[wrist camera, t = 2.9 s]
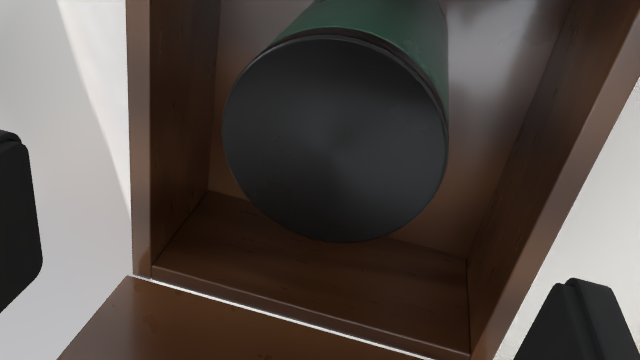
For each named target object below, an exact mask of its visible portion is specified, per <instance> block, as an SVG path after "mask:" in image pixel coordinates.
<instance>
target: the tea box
mask: <svg viewBox="0 0 640 360" xmlns="http://www.w3.org/2000/svg"><path fill="white" fill-rule="evenodd" d="M314 1H315V0H126V35H127V72H128V109H129V147H130V184H131V221H132V257H133V274H134V275H137V276H140V277H144V278H147V279H151V278H152V279H153V280H156V281H159V282H163V283H166V284H170V285H173V286H177V287H180V288H184V289H187V290H191V291H195V292H198V293H202V294H205V295H209V296H212V297H216V298H219V299H223V300H226V301H230V302H233V303H237V304H240V305H244V306H247V307H251V308H255V309H258V310H262V311H265V312H269V313H272V314H276V315H279V316H283V317H286V318H290V319H293V320H297V321H300V322H304V323H307V324H311V325H314V326H318V327H322V328H325V329H329V330H332V331H336V332H339V333H343V334H346V335H350V336H353V337H357V338H360V339H364V340H367V341H371V342H374V343H378V344H382V345H385V346H389V347H392V348H396V349H399V350H403V351H406V352H410V353H413V354H417V355H420V356H424V357H427V358H431V359H434V360H493V358H494V356H495V354H496V352H497V350H498V348H499V347H500V345H501V343H502V341H503V339H504V337H505V335H506V333H507V331H508V329H509V327H510V325H511V323H512V321H513V319H514V318H515V316H516V314H517V312H518V310H519V308H520V306H521V304H522V302H523V300H524V298H525V296H526V294H527V292H528V290H529V289H530V287H531V285H532V283H533V281H534V279H535V277H536V275H537V273H538V271H539V269H540V267H541V265H542V263H543V262H544V260H545V258H546V256H547V254H548V252H549V250H550V248H551V246H552V244H553V242H554V240H555V238H556V236H557V234H558V233H559V231H560V229H561V227H562V225H563V223H564V221H565V219H566V217H567V215H568V213H569V211H570V209H571V207H572V205H573V204H574V202H575V200H576V198H577V196H578V194H579V192H580V190H581V188H582V186H583V184H584V182H585V180H586V178H587V176H588V175H589V173H590V171H591V169H592V167H593V165H594V163H595V161H596V159H597V157H598V155H599V153H600V151H601V149H602V148H603V146H604V144H605V142H606V140H607V138H608V136H609V134H610V132H611V130H612V128H613V126H614V124H615V122H616V120H617V119H618V117H619V115H620V113H621V111H622V109H623V107H624V105H625V103H626V101H627V99H628V97H629V95H630V93H631V91H632V90H633V88H634V86H635V84H636V82H637V80H638V78H639V76H640V0H437V2H438V3H439V5H440V7H441V9H442V12H443V14H444V17H445V20H446V24H447V30H448V77H449V155H448V164H447V168H446V172H445V176H444V179H443V181H442V183H441V186H440V188H439V190H438V192H437V194H436V195H435V197H434V198H433V200H432V202H431V203H430V204H429V205H428V206H427V207H426V209H425V210H424V211H423V212H422V213H421V214H420V215H419V216H418V217H416V218H415V219H414V220H413V221H412V222H410V223H409V224H407V225H406V226H404V227H403V228H401V229H399V230H397V231H396V232H394V233H392V234H389V235H387V236H384V237H381V238H378V239H374V240H370V241H366V242H358V243H332V242H324V241H319V240H314V239H310V238H307V237H304V236H301V235H298V234H296V233H294V232H292V231H289V230H287V229H285V228H284V227H282V226H280V225H278V224H277V223H275V222H274V221H272V220H271V219H270V218H268V217H267V216H265V215H264V214H263V213H262V212H261V211H260V210H259V209H257V208H256V207H255V206H254V205H253V204H252V202H251V201H250V200H249V199H248V198H247V197H246V196H245V194H244V193H243V191H242V190H241V189H240V187H239V186H238V184H237V182H236V181H235V179H234V177H233V175H232V173H231V171H230V168H229V166H228V163H227V160H226V156H225V152H224V148H223V140H222V118H223V112H224V107H225V103H226V100H227V97H228V94H229V92H230V90H231V88H232V86H233V84H234V82H235V81H236V79H237V78H238V76H239V75H240V73H241V72H242V71H243V70H244V69H245V68H246V67H247V65H248V64H249V63H250V62H251V61H252V60H253V59H254V58H255V57H256V56H257V55H259V54H260V53H261V52H262V51H263V50H264V49H265V48H266V47H267V46H268V45H269V44H270V43H271V42H272V41H273V40H274V39H275V38H276V37H277V36H278V35H279V34H280V33H282V32H283V31H284V30H285V29H286V28H287V27H288V26H289V25H290V24H291V23H292V22H293V21H294V20H295V19H296V18H297V17H298V16H299V15H300V14H301V13H302V12H304V11H305V10H306V9H307V8H308V7H309V6H310V5H311V4H312V3H313V2H314Z"/></svg>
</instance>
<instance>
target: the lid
mask: <svg viewBox="0 0 640 360" xmlns="http://www.w3.org/2000/svg"><path fill="white" fill-rule="evenodd" d="M57 360H424V359H420V358H417V357H413V356H410V355H406V354H403V353H399V352H395V351H392V350H388V349H385V348H381V347H378V346H374V345H371V344H367V343H364V342H360V341H357V340H353V339H350V338H346V337H343V336H339V335H336V334H332V333H329V332H325V331H322V330H318V329H314V328H311V327H307V326H304V325H300V324H297V323H293V322H290V321H286V320H283V319H279V318H276V317H272V316H269V315H265V314H262V313H258V312H255V311H251V310H248V309H244V308H241V307H237V306H233V305H230V304H226V303H223V302H219V301H216V300H212V299H209V298H205V297H202V296H198V295H195V294H191V293H188V292H184V291H181V290H177V289H174V288H170V287H167V286H163V285H160V284H156V283H152V282H149V281H145V280H142V279H138V278H135V277H131V276H126V277H125V278H124V279H123V280H122V282H121V283H120V284H119V285H118V286H117V288H116V289H115V290H114V291H113V292H112V294H111V295H110V296H109V297H108V298H107V300H106V301H105V302H104V303H103V304H102V306H101V307H100V308H99V309H98V311H97V312H96V313H95V314H94V316H92V318H91V319H90V320H89V321H88V323H87V324H86V325H85V326H84V327H83V328H82V330H81V331H80V332H79V333H78V334H77V336H76V337H75V338H74V339H73V340H72V342H71V343H70V344H69V345H68V346H67V348H66V349H65V350H64V351H63V353H62V354H61V355H60V356H59V357H58V358H57Z"/></svg>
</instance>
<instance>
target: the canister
mask: <svg viewBox="0 0 640 360" xmlns="http://www.w3.org/2000/svg"><path fill="white" fill-rule="evenodd" d="M222 140H223V148H224V152H225V156H226V160H227V163H228V166H229V168H230V171H231V173H232V175H233V177H234V179H235V181H236V182H237V184H238V186H239V187H240V189H241V190H242V191H243V193H244V194H245V196H246V197H247V198H248V199H249V200H250V201H251V202H252V204H253V205H254V206H255V207H256V208H257V209H259V210H260V211H261V212H262V213H263V214H264V215H265V216H267V217H268V218H270V219H271V220H272V221H274V222H275V223H277V224H278V225H280V226H282V227H284V228H285V229H287V230H289V231H292V232H294V233H296V234H298V235H301V236H304V237H307V238H310V239H314V240H319V241H324V242H332V243H358V242H366V241H370V240H374V239H378V238H381V237H384V236H387V235H389V234H392V233H394V232H396V231H397V230H399V229H401V228H403V227H404V226H406V225H407V224H409V223H410V222H412V221H413V220H414V219H415V218H416V217H418V216H419V215H420V214H421V213H422V212H423V211H424V210H425V209H426V207H427V206H428V205H429V204H430V203H431V202H432V200H433V198H434V197H435V195H436V194H437V192H438V190H439V188H440V186H441V183H442V181H443V179H444V176H445V172H446V168H447V164H448V155H449V77H448V30H447V24H446V20H445V17H444V14H443V12H442V9H441V7H440V5H439V3H438V2H437V0H315V1H314V2H313V3H312V4H311V5H310V6H309V7H308V8H307V9H306V10H305V11H304V12H302V13H301V14H300V15H299V16H298V17H297V18H296V19H295V20H294V21H293V22H292V23H291V24H290V25H289V26H288V27H287V28H286V29H285V30H284V31H283V32H282V33H280V34H279V35H278V36H277V37H276V38H275V39H274V40H273V41H272V42H271V43H270V44H269V45H268V46H267V47H266V48H265V49H264V50H263V51H262V52H261V53H260V54H259V55H257V56H256V57H255V58H254V59H253V60H252V61H251V62H250V63H249V64H248V65H247V67H246V68H245V69H244V70H243V71H242V72H241V73H240V75H239V76H238V78H237V79H236V81H235V82H234V84H233V86H232V88H231V90H230V92H229V94H228V97H227V100H226V103H225V107H224V112H223V118H222Z"/></svg>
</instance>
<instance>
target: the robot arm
mask: <svg viewBox="0 0 640 360" xmlns="http://www.w3.org/2000/svg"><path fill="white" fill-rule="evenodd" d="M42 263H43V257H42V250H41V243H40V235H39V227H38V220H37V213H36V205H35V198H34V190H33V183H32V175H31V168H30V160H29V153H28V149H27V148H26V146H25V145H23V144H22V142H21V139H20V138H19V137H18V135H16V134H14V133H11V132H7V131H4V130H0V313H1V312H2V311H3V310H4V309H5V308H6V307H7V306H8V305H9V304H10V303H11V302H12V301H13V300H14V299H15V298H16V297H17V296H18V295H19V294H20V293H21V292H22V291H23V290H24V289H25V288H26V287H27V286H28V285H29V284H30V283H31V282H32V281H33V280H34V279H35V278H36V277H37V276H38V274H39V272H40V270H41V267H42ZM513 360H640V354H639V352H638V349H637V347H636V345H635V342H634V340H633V338H632V335H631V333H630V330H629V328H628V326H627V323H626V321H625V319H624V316H623V314H622V312H621V309H620V307H619V304H618V302H617V300H616V297H615V295H614V293H613V291H612V290H611V288H609V287H607V286H604V285H600V284H596V283H592V282H588V281H584V280H581V279H577V278H570V279H569V280H567V281H566V283H565V284H561V283H556V284H555V285H554V286H553V287H552V289H551V291H550V292H549V294H548V296H547V298H546V300H545V302H544V304H543V305H542V307H541V309H540V311H539V313H538V315H537V317H536V318H535V320H534V322H533V324H532V326H531V328H530V330H529V331H528V333H527V335H526V337H525V339H524V341H523V342H522V344H521V346H520V348H519V350H518V352H517V354H516V355H515V357H514V359H513Z"/></svg>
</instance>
